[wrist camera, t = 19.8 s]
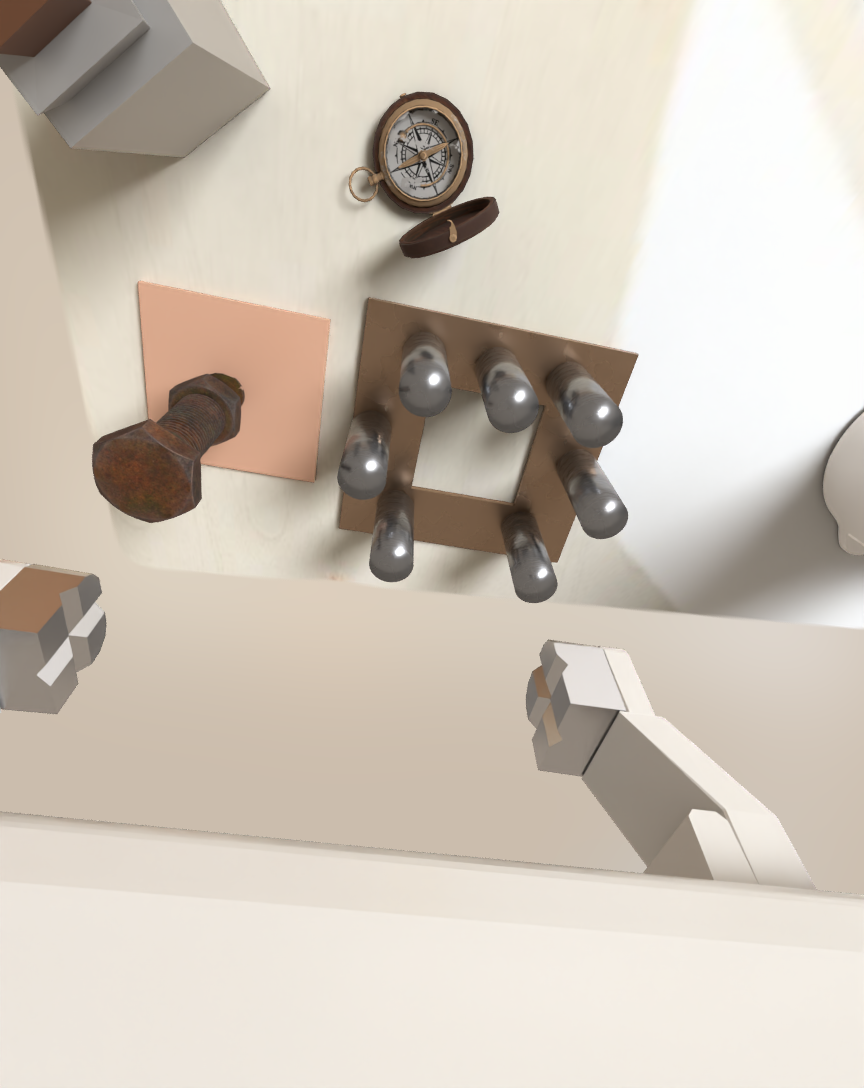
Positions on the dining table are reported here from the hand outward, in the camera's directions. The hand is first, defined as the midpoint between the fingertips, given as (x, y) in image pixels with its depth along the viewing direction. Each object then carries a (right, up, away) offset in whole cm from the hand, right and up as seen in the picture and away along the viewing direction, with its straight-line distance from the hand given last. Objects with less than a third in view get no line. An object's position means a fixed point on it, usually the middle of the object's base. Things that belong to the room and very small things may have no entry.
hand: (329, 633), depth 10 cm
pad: (-13, +13, +32) cm, 37 cm away
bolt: (-14, +13, +32) cm, 37 cm away
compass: (+1, +25, +25) cm, 36 cm away
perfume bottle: (-12, +30, +22) cm, 39 cm away
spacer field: (+5, +10, +35) cm, 37 cm away
